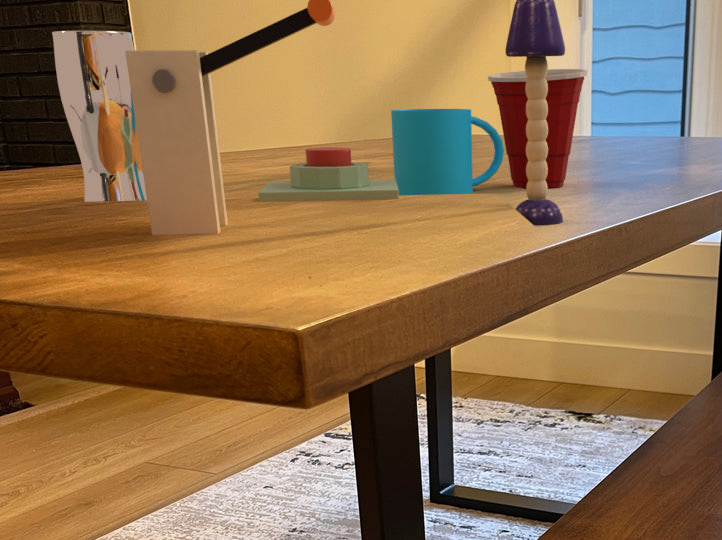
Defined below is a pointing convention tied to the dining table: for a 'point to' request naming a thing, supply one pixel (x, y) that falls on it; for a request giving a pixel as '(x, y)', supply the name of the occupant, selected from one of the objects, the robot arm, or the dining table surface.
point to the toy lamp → (536, 97)
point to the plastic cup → (559, 119)
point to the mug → (438, 151)
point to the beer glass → (101, 112)
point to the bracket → (177, 141)
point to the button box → (329, 185)
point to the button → (328, 157)
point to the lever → (269, 35)
